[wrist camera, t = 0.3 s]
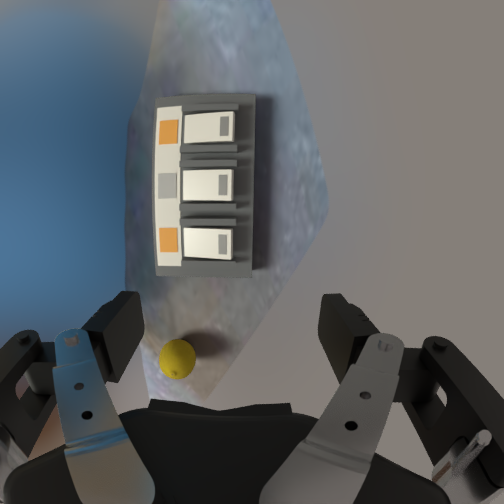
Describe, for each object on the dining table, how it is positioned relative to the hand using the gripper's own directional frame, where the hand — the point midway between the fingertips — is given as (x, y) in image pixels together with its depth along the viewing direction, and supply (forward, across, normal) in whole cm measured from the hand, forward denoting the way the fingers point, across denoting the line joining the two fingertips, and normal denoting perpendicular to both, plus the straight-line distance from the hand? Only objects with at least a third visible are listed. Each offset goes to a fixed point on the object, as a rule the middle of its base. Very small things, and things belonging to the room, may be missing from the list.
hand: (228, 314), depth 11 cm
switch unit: (+27, +4, -5) cm, 28 cm away
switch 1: (+22, +3, -12) cm, 26 cm away
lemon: (+27, +9, +20) cm, 35 cm away
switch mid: (+22, +3, -5) cm, 23 cm away
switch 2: (+22, +4, +2) cm, 22 cm away
